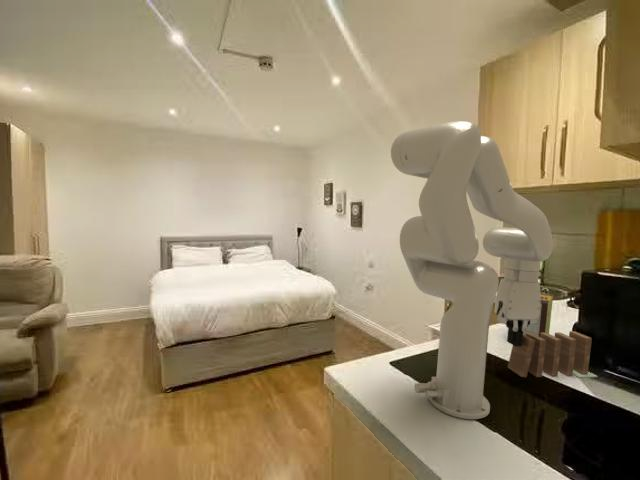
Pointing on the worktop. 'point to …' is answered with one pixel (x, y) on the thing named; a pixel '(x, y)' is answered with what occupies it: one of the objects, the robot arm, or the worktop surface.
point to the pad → (583, 375)
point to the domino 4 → (566, 354)
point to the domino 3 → (551, 354)
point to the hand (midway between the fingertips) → (514, 344)
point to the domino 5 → (581, 352)
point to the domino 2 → (537, 355)
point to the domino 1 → (521, 357)
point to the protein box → (542, 317)
